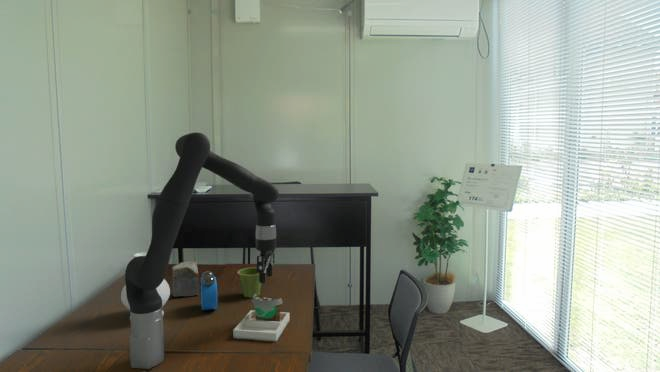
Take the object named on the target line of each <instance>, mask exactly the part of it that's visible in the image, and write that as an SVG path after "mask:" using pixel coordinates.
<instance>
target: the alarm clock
mask: <svg viewBox="0 0 660 372" xmlns="http://www.w3.org/2000/svg"><path fill="white" fill-rule="evenodd" d="M199 290H200V291H199V294H200V303H201V306H200V307H201V310H202V311H206V310H207V311H208V310H214V312H215V311H216V309H217V308H218V284H217V278H216V276H214V273H213V272H212V271H210V270H206V271H204V272H202V274H201V278H200V288H199Z"/></svg>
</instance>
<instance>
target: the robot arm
mask: <svg viewBox="0 0 660 372" xmlns="http://www.w3.org/2000/svg"><path fill="white" fill-rule="evenodd" d="M174 146H175V148H174V149H175V153H176V154H177V156H178V157H179V160H178V162H177V166H176V168H175V170H174V172H173V174H172V175H171V176H170V178H169V179H168V181H167V182H166V184H165V185H164V187H163V188H162V190H161V192H160V194H159V196H158V198H157V201H156V203H155V206H154V209H153V212H152V217H151V240H150V243H149V247H148V249H147V251H146V252H147V254H146V256H138V257H135V258H134V257H133V258H132V259H131V260H130V261H129V262H128V264H127V266H125V267H126V268H125V273H124V279H125V284H126V295H127V300H128V303H129V306H130V310H129V314H130V316H129V321H130V338H129V351H130V352H129V354H130V355H129V356H130V368H134V369H143V370H151V368H153V367H157V366H158V365H160V364H162V362H163V361H164V360H165V348H164V347H165V346H164V324H163V323H164V320H163V319H164V318H163V316H162V310H163V307H162V298H161V297H160V295H159V294H158V292H157V289H156V288H157V287H158V286H159V285H160V284H161V283H162V282H163V280H164V279H166V278H165V277H166V275H167V271H168V268H169V263H170V259H171V255H172V251H173V248H174V245H175V242H176V240H177V237H178V234H179V230H180V228H181V225H182V223H183V221H184V219H185V215H186V212H187V210H188V207H189V204H190V200H191V197H192V195H193V191H194V189H195V185H196V184H197V183H196V182H197V180H198V178H199V175H200V172H201V171H202V169H205V170H207V171H209V172H211V173H213V174H215V175H217V176H219V177H220V178H221V179H223V180H226V181H227V182H229V183H230V184H232V185H233V186H235V187H237V188H238V189H240V190H242V191H244V192H246V193H250V194H252V198H253V204H254V208H255V212H256V214H255V215H256V216H255V217H256V218H255V219H256V221H255V224H256V225H255V249H256V250H257V251H259V252H260V253H259V255H257V256H256V268H257V273H259V282H260V283H261V284H265V283H266V282H267V281H266V278H267V277H272V276H273V267H274V264H275V262H276V261H275V250H276V249H277V228H276V212H275V210H274V208H273V207H272V203H275V202H276V201H277V200H278V198H279V196H280V193H279V189H278V187H277V186H276V185H274V184H272V182H269V181H267V180H266V179H263V178H261V177H259V176H258V175H256V174H254V173H253V172H252V171H250V170H249V169H247V168H245V167H244V166H242V165H240V164H238V163H236V162H234V161H231V160H229V159H227V158H224V157H222V156H220V155H218V154H217V153H215V152H213V151H211V142H210V139H209V137H208V136H206V134H204V133H202V132H191V133H186V134H183V135H182V136H180V137H179V138H178V139H177V140H176V142H175V145H174ZM261 268H262V269H261Z"/></svg>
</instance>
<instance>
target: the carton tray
mask: <svg viewBox="0 0 660 372" xmlns="http://www.w3.org/2000/svg"><path fill="white" fill-rule="evenodd" d="M290 315H291V313H290V312H285V311H283V312H282V311H280V322H276V321H262V320H256V316H255V309H254V310H252V309H250V311H249V312H248V313H247V314H246V315H245V316H244V317H243V318H242V319H241V321H240V322H239V323H238V324H237V325H236V326H235V327H234V328H233V329H232V333H233V339H238V340H251V341H252V340H253V341H261V342H262V341H264V342H277V341H278V340H279V338H280V337H281V335H282V334H283V332H284V329H285V328H286V327H287V325H288V324H289V322H290V318H291V317H290Z"/></svg>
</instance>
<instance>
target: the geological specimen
mask: <svg viewBox="0 0 660 372" xmlns="http://www.w3.org/2000/svg"><path fill="white" fill-rule="evenodd" d="M171 269H172V296H173V297H174V298H175V297H184V298H185V297H193V296H199V295H200V291H199V290H200V288H199V271H198V264H197V260H196V261H194V260H190V261H187V260H186V261H181V262H179V263H177V264H176V265H173V266H172V267H171Z"/></svg>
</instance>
